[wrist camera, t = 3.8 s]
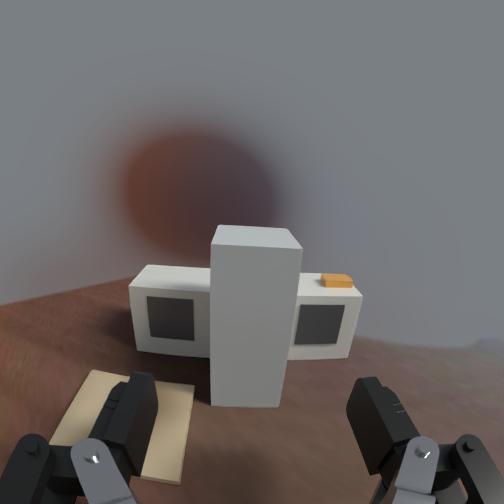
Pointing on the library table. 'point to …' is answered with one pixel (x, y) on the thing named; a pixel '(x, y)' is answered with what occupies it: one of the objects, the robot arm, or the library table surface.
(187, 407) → the coaster
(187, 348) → the socket bar
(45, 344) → the library table surface
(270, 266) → the block
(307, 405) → the library table surface
